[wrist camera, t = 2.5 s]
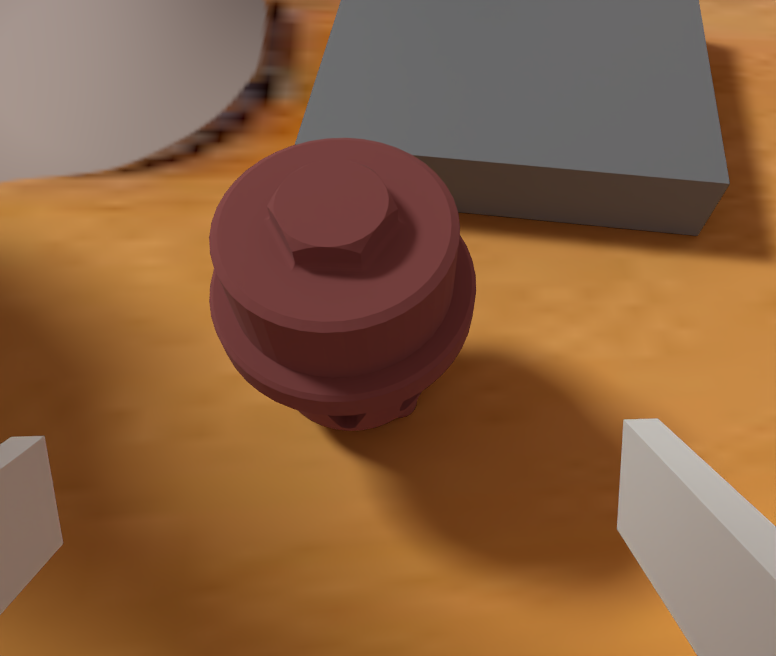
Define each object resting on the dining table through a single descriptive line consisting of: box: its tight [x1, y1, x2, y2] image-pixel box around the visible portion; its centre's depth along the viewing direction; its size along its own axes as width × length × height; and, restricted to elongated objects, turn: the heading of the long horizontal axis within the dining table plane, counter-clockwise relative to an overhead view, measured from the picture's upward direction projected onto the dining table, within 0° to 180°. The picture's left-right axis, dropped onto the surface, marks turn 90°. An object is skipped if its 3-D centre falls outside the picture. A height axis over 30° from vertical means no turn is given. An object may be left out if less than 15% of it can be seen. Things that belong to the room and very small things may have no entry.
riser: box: [295, 0, 730, 236], centre depth 38 cm, size 22×18×4 cm
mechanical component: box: [209, 138, 476, 431], centre depth 25 cm, size 12×10×10 cm
